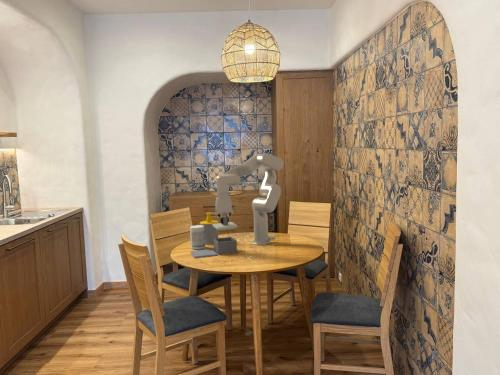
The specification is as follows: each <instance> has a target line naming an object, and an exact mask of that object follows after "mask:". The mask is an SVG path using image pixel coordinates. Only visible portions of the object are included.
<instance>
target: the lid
mask: <svg viewBox="0 0 500 375" xmlns="http://www.w3.org/2000/svg"><path fill="white" fill-rule="evenodd" d="M222 217H223V224H221V222H220V223H217V224H212V225H213V227H215V228H216V229H217V230H218V231H228V230H234V229H236V228H238V225H237V224H236V223H235V222H234V221H229V222H228V218H227V217H226V215H222Z"/></svg>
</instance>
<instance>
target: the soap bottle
mask: <svg viewBox="0 0 500 375" xmlns="http://www.w3.org/2000/svg"><path fill="white" fill-rule="evenodd" d="M214 213H215V212H206V216H207V217H206V219H205V220H203V221H200V222H199V225H203V226H204V232H205V245H214V239H215V238H219V230H217V229H216V228H215V227H213V225H212V224H217V223H219V222H220V221H218V220H213V218H212V216H211V215H215V214H214Z"/></svg>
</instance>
